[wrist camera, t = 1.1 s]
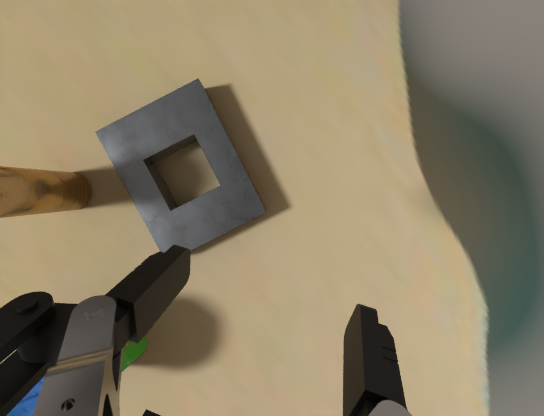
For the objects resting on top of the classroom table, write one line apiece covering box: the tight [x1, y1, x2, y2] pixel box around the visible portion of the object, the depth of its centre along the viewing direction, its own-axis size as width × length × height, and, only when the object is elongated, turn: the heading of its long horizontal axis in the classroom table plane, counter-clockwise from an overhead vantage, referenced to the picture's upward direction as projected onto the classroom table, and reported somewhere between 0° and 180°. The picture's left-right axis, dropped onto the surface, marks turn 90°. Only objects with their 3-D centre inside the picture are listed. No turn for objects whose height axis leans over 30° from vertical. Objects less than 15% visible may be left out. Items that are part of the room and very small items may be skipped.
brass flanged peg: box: [0, 166, 92, 218], centre depth 27 cm, size 7×7×14 cm
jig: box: [96, 79, 267, 253], centre depth 33 cm, size 18×14×3 cm
